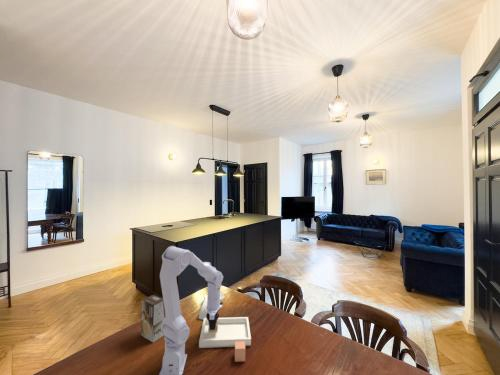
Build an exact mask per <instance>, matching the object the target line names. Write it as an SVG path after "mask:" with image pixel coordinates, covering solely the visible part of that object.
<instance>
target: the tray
mask: <svg viewBox="0 0 500 375" xmlns="http://www.w3.org/2000/svg"><path fill="white" fill-rule="evenodd" d="M202 321H203V322H202V325H201V330H200V335H199V336H200V337H199V341H198V348H199V349H204V348H205V349H206V348H233V347H234V348H235V342H240V341H245V347H251V346H252V336H251V328H250V321H249V316H235V317H228V316H227V317H218V331H217V332H210V333H208V329H209V322H208V320H207V318H204V320H202Z"/></svg>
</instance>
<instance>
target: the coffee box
mask: <svg viewBox="0 0 500 375" xmlns="http://www.w3.org/2000/svg"><path fill="white" fill-rule="evenodd" d="M165 317H166V314H165V308H164V301H163V297H160V296H158V295H155V294H151V295H150V296H147V297H145V298H144V299H142V300H141V322H140V323H141V324H140V336H141V337H143V338H144V339H146V340H148V341H150V342H151V343H155V342H157V341H158V340H159V339H161V338H162V337H164V336H163V335H162V332H161V330H162V326H163V322H162V321H163V319H164V318H165Z"/></svg>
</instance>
